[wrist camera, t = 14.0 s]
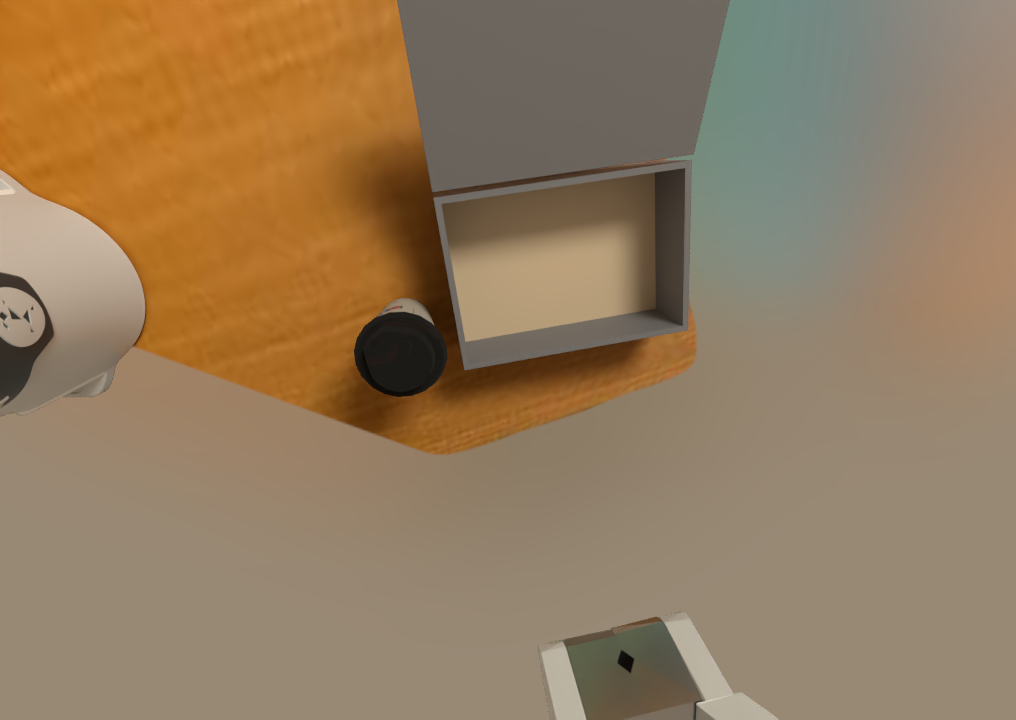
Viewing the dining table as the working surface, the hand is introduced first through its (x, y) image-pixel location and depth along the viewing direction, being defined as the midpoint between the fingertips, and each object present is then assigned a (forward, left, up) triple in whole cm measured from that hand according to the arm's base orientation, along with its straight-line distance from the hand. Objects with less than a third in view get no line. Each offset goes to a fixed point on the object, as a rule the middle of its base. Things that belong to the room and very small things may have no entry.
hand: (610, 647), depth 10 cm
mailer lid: (+8, +14, -28) cm, 32 cm away
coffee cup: (-6, -4, -37) cm, 38 cm away
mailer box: (+8, 0, -37) cm, 38 cm away
